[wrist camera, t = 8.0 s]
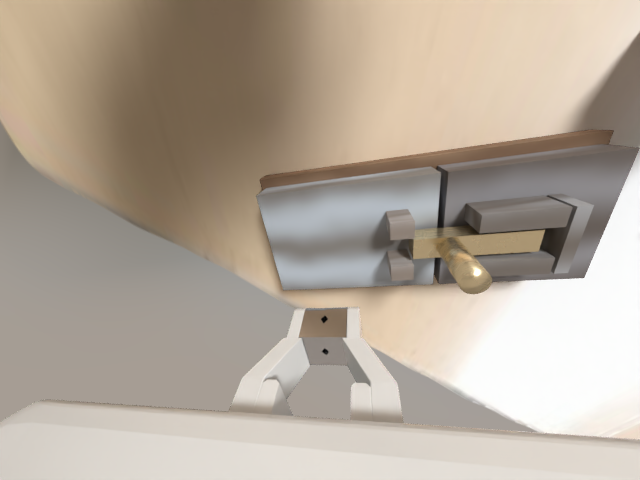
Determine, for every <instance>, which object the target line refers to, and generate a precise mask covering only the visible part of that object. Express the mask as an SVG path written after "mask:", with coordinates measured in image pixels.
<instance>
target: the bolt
mask: <svg viewBox="0 0 640 480" xmlns="http://www.w3.org/2000/svg"><path fill="white" fill-rule="evenodd" d="M544 232H545V230H544V229H532V230H519V231H506V232H493V233H480V234H479V233H478V232H477V231H476V230H475V229H474V228H473V227H472V226H471V225H467V226H455V227H443V228H431V229H419V230H415V238H414V239H409V250H410V253H411V255H412V257H413V259H422V258H439V257H441V258H442V259H443V261H444V262H445V264H446V266H447V267H448V269H449V270H450V272H451V274H452V275H453V277H454V278H455V280H456V282H457V283H458V285H459V286H460V288H461V289H462V291H464V292H466V293H468V294H478V293H481V292H484V291H485V290H487V289H488V288H489V287H490V285H491V284H492V277H491V275H490V274H489V273H488V272H487V271H486V270H485V268H484V267H483V266H482V265H481V264H480V263H479V262H478V260H477V259H476V258H475V257H474V256H473V255H488V254H505V253H521V252H538V251H539V249H540V246H541V242H542V239H543V236H544Z"/></svg>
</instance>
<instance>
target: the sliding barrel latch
mask: <svg viewBox="0 0 640 480" xmlns="http://www.w3.org/2000/svg"><path fill="white" fill-rule="evenodd" d="M613 131H614V130H585V131H578V132H571V133H564V134H557V135H550V136H543V137H536V138H529V139H522V140H515V141H507V142H500V143H493V144H486V145H479V146H472V147H465V148H458V149H451V150H444V151H437V152H430V153H423V154H416V155H409V156H402V157H395V158H387V159H380V160H373V161H366V162H359V163H352V164H345V165H338V166H331V167H324V168H317V169H310V170H303V171H296V172H289V173H282V174H275V175H267V176H265V177H263V178H261V179H260V183H261V187H262V190H263V191H262V192H261V193H259V194H258V195H257V196H256V197H257V201H258V204H259V207H260V211H261V214H262V218H263V221H264V225H265V228H266V232H267V235H268V239H269V242H270V246H271V249H272V253H273V256H274V260H275V263H276V267H277V270H278V273H279V277H280V280H281V284H282V287H283V290H301V289H325V288H350V287H374V286H399V285H423V284H433V276H434V275H435V277H436V279H437V281H438V283H439V284H448V283H457V282H456V280H455V278H454V277H453V275H452V274H451V272H450V270H449V269H448V267H447V266H446V264H445V262H444V261H443V259H442V258H441V257H439V258H422V259H413V257H412V255H411V253H410V250H409V239H414V238H415V230H419V229H431V228H443V227H455V226H467V225H471V226H472V227H473V228H474V229H475V230H476V231H477V232H478V233H479V234H480V233H493V232H506V231H519V230H532V229H544V230H545V232H544V236H543V239H542V242H541V246H540V249H539V251H538V252H521V253H505V254H488V255H473V256H474V257H475V258H476V259H477V260H478V262H479V263H480V264H481V265H482V266H483V267H484V268H485V270H486V271H487V272H488V273H489V274H490V275H491V277H492V282H497V281H522V280H546V279H571V278H584V277H585V275H586V272H587V270H588V268H589V265H590V263H591V260H592V258H593V256H594V253H595V251H596V249H597V246H598V244H599V242H600V239H601V237H602V235H603V232H604V230H605V228H606V225H607V223H608V221H609V218H610V216H611V214H612V211H613V209H614V207H615V204H616V202H617V200H618V197H619V195H620V193H621V190H622V188H623V186H624V183H625V181H626V179H627V176H628V174H629V172H630V169H631V167H632V165H633V162H634V160H635V158H636V155H637V153H638V151H639V148H635V147H626V146H616V145H609V142H610V139H611V136H612V134H613Z"/></svg>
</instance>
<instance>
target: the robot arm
mask: <svg viewBox="0 0 640 480" xmlns="http://www.w3.org/2000/svg"><path fill="white" fill-rule="evenodd" d="M310 365H345V366H348V368H349V370H350V372H351V374H352V375H353V377H354V379H355V381H356V383H354V384H353V385H352V386H351V415H350V416H351V417H350V420H345V419H330V418H316V417H300V416H293V414H292V412H291V410H290V407H289V405H288V402H287V400H286V399H287V398H288V397H289V395H290V394H291V392H292V391H293V390H294V388H295V387H296V385H297V384H298V382H299V381H300V380H301V378H302V377H303V375H304V374H305V373H306V371H307V370H308V368H309V367H310ZM0 480H640V439H626V438H611V437H596V436H581V435H567V434H552V433H537V432H522V431H506V430H491V429H477V428H462V427H447V426H446V427H445V426H433V425H417V424H404V423H403V416H402V410H401V403H400V397H399V391H398V384H397V382H396V381H395V380H394V378H393V377H392V376H391V374H390V373H389V372H388V370H387V369H386V368H385V366H384V365H383V364H382V362H381V361H380V360H379V358H378V357H377V356H376V354H375V353H374V352H373V350H372V349H371V348H370V346H369V345H368V344H367V342H366V341H365V340H364V338H362V328H361V319H360V310H359V307H345V308H306V309H295V311H294V313H293V317H292V320H291V323H290V327H289V330H288V334H287V337H286V338H283V339H282V340H281V341H280V342H278V344H277V345H275V346H274V347H273V348H272V349H271V350H270V351H269V352H268V353H267V354H266V355H265V356H264V357H263V358H262V359H261V360H260V361H259V362H258V363H257V364H256V365H255V366H254V367H253V368H252V369H251V370H250V371H249V372H247V374H245V375H244V376H243V378H242V380H241V382H240V385H239V387H238V390H237V392H236V394H235V396H234V399H233V401H232V404H231V406H230V409H229V411H228V412H226V411H212V410H196V409H182V408H167V407H151V406H137V405H123V404H108V403H94V402H78V401H65V400H51V399H47V400H41V401H38V402H35V403H33V404H31V405H29V406H28V407H25V408H24V409H22V410H20V411H18V412H16V413H14V414H13V415H11V416H9V417H7V418H6V419H4V420H2V421H1V422H0Z"/></svg>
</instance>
